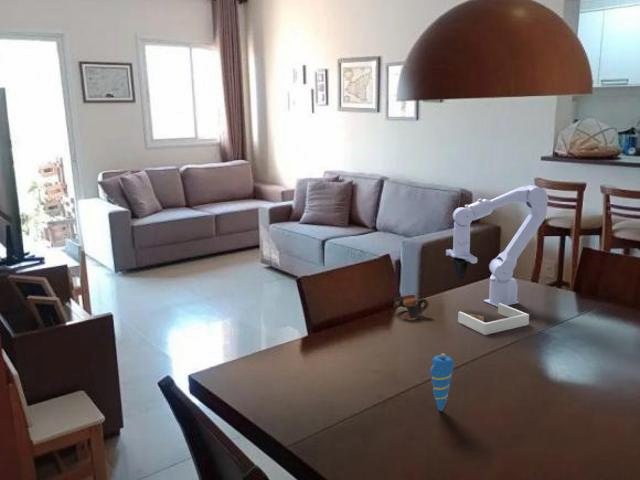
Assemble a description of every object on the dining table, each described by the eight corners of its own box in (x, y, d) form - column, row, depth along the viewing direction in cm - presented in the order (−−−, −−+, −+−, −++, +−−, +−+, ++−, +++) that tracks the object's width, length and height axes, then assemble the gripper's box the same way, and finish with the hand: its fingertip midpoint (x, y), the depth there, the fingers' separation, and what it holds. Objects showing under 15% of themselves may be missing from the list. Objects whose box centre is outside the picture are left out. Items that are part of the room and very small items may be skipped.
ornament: (436, 403, 137) (437, 344, 133) (456, 409, 133) (458, 350, 130) (425, 412, 133) (426, 352, 129) (446, 419, 129) (447, 357, 126)
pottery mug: (395, 321, 192) (390, 298, 194) (399, 324, 201) (394, 301, 203) (430, 313, 189) (425, 289, 192) (432, 316, 198) (427, 294, 201)
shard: (480, 332, 180) (480, 327, 180) (456, 329, 183) (456, 324, 183) (485, 320, 190) (485, 315, 190) (461, 318, 193) (462, 313, 193)
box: (500, 312, 196) (500, 303, 195) (528, 324, 184) (529, 314, 184) (458, 321, 188) (458, 311, 188) (484, 335, 177) (485, 324, 176)
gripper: (439, 239, 206) (438, 275, 209) (466, 246, 194) (465, 285, 197) (455, 236, 209) (454, 272, 212) (482, 244, 197) (481, 282, 200)
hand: (460, 278), depth 205 cm, fingers closed
